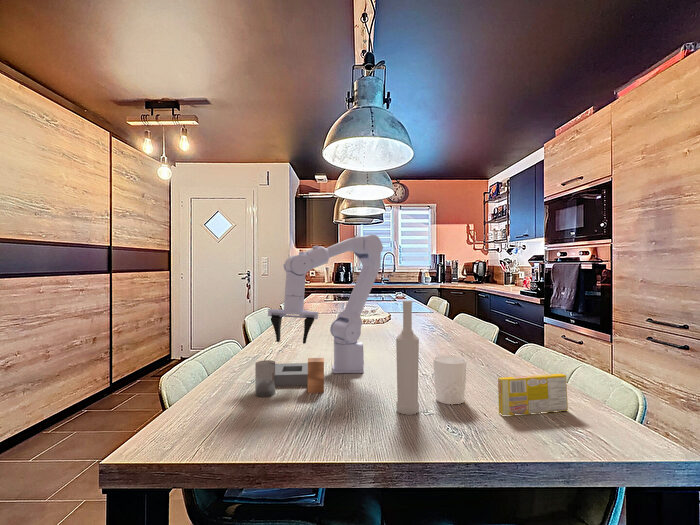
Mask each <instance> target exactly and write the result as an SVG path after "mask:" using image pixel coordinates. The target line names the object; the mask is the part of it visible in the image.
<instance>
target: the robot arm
mask: <svg viewBox="0 0 700 525" xmlns="http://www.w3.org/2000/svg"><path fill="white" fill-rule="evenodd" d="M383 249H384V246H383V243H382V240H381V239H380V237H379V236H377V234H369V235H364V236H356V237H352V238H346V239H345V240H342V241H340V242H337V243H335V244H332V245H330V246H328V247H324V246H321V245H314V246H312V247H311V248H310V249H308V250H306V251H302V250H301V251H299V252H298V254H297V255H291V256H289V257H287V259H285V262H284V264H283V269H284V271H285V276H286V277H285V286H284V300H283V301H284V302H283V309H278V308H277V309H276V308H275V309H274V308H273V309H272V308H269V309H268V310H267V317H270V321H271V323H272V327H273V329H274V333H275V340H276V342H275V343H280V342H281V329H282V328H281V327H282V319H283V318H300V319H304V320H303V321H304V324H303V337H302V338H303V339H302V344H303V345H304V344H306V343H307V338H308V335H309V332H310V330H311V327H312V326H313V323H314V322H315V320H318V319H319V311H310V310H304V308H305V307H304V305H305V304H304V303H305V288H306V275H307V273H309V271H311V270H313V269H315V268H318V267H321V266H323V265H326V264H328V263H329V260H330V258H332V257H335V256H338V255H341V254H344V253H346V252H349V253H353V254H354V255H355V256H356V257H357V259H358V260H359V261H360V264H361V265H362V268H361V270H360V273H359V275H358V278H357V279H356V282H355V284H354V286H353V289H352V291H351V294H350V296H349V298H348V300H347V303H346V305H345V307H344V309H343V310H342V311H341V312H339V314H338V316H337V317H336V319H334V321H333V322H332V323H331V325H330V329H329V330H330V334H331V336H332V337H333V364H332V373H333V374H361V373H362V374H363V373H364V372H365V370H364V367H365V360H364V359H365V357H364V344H363V341H358V340H359V339H360V337H361V332H362V325H363V320H362V317H361V314H362V313H363V311H364V307H365V305H366V303H367V301H368V298H369V295H370V293H371V291H372V288H373V286H374V284H375V282H376V280H377V276H378V274H379V271H380V269H381V265H382V264H381V262H382V261H381V258H382V257H381V254H382V251H383Z"/></svg>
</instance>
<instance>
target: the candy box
mask: <svg viewBox="0 0 700 525" xmlns="http://www.w3.org/2000/svg"><path fill="white" fill-rule="evenodd" d="M567 383H568V382H567V375H566V374H563V373H552V374H551V373H550V374H537V375H522V376H521V375H520V376H507V377H498V378H497V388H498V389H497V390H498V414H499V413H501V414H502V415H515V414H531V413H541V412H554V411H567V410H568V411H569V408H568V407H569V405H568V389H567V386H568V385H567Z"/></svg>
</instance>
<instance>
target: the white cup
mask: <svg viewBox="0 0 700 525" xmlns="http://www.w3.org/2000/svg"><path fill="white" fill-rule="evenodd" d="M467 363H468V362H467V359H466V358H464V357H461V356H457V355H438V356H434V357H433V377H434V388H435V399H436V401H437V402H439V403H441V404H444V405H450V404H451V405H453V404H458V405H461V403H462V404H463V403H465V394H466V392H465V391H466V383H467V382H466V381H467ZM451 405H450V406H451Z"/></svg>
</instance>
